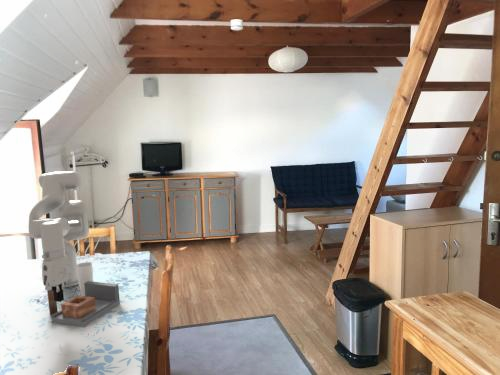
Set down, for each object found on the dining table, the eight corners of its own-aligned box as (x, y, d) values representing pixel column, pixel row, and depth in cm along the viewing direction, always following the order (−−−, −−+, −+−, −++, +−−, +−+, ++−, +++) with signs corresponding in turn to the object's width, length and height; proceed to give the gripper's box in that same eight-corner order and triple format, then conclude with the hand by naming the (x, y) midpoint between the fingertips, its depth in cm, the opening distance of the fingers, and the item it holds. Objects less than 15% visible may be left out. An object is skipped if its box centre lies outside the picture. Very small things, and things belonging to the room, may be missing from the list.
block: (62, 315, 165) (60, 304, 165) (78, 306, 174) (77, 295, 173) (80, 318, 162) (79, 306, 162) (95, 308, 171) (94, 297, 170)
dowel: (48, 314, 173) (45, 286, 171) (53, 311, 175) (50, 284, 174) (53, 315, 172) (50, 287, 170) (59, 312, 174) (56, 284, 173)
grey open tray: (52, 322, 165) (49, 300, 164) (90, 300, 186) (88, 281, 184) (84, 327, 160) (82, 305, 159) (119, 304, 180) (118, 284, 179)
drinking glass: (89, 299, 187) (86, 267, 185) (76, 298, 188) (72, 266, 186) (97, 293, 194) (94, 262, 192) (84, 292, 195) (81, 262, 193)
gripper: (46, 260, 147) (51, 309, 149) (76, 249, 161) (81, 294, 163) (30, 259, 150) (35, 307, 152) (61, 248, 164) (66, 292, 166)
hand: (59, 300), depth 158 cm, fingers closed
